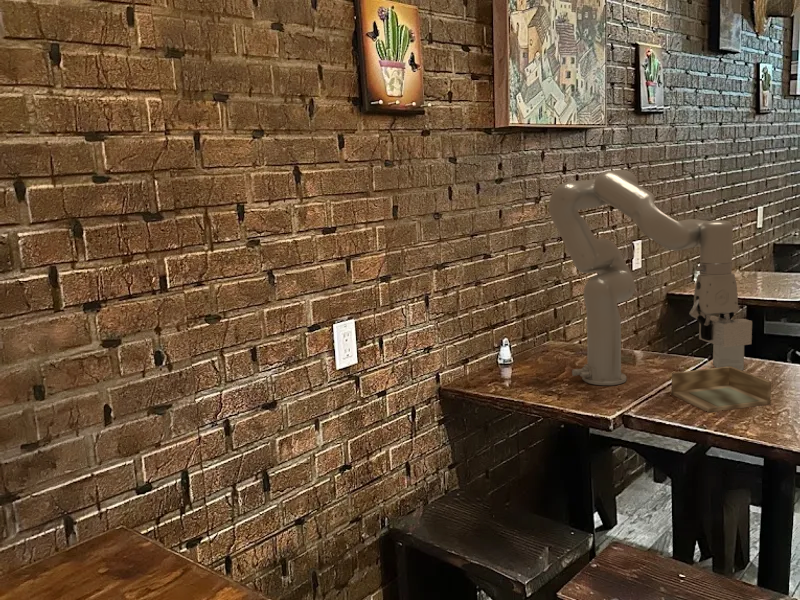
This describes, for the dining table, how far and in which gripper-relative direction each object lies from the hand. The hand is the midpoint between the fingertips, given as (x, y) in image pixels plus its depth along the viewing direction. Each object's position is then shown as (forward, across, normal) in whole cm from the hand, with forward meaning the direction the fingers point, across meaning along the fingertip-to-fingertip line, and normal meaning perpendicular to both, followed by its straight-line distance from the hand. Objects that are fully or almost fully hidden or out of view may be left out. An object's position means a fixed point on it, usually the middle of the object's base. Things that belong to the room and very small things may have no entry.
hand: (713, 337), depth 186 cm
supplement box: (+17, +23, +25) cm, 38 cm away
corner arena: (+17, +2, 0) cm, 17 cm away
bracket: (+1, +2, -2) cm, 3 cm away
